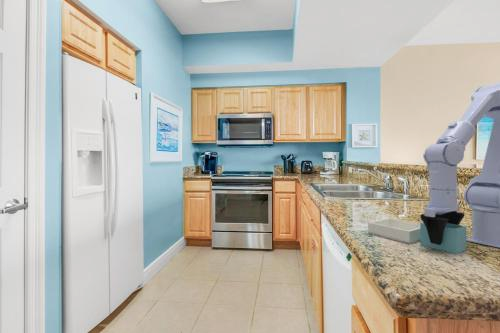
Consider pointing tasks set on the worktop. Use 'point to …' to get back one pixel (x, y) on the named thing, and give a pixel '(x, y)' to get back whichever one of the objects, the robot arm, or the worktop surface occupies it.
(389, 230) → the white crate
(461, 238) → the teal crate
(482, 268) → the worktop surface
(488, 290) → the worktop surface
